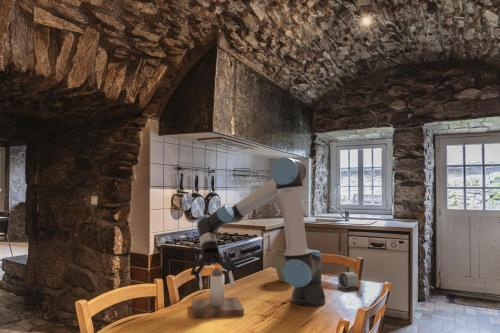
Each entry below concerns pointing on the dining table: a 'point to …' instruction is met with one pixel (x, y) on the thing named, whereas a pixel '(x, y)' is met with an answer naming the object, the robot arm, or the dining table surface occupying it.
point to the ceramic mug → (348, 279)
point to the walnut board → (217, 308)
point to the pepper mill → (217, 288)
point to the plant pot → (279, 263)
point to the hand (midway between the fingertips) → (217, 287)
